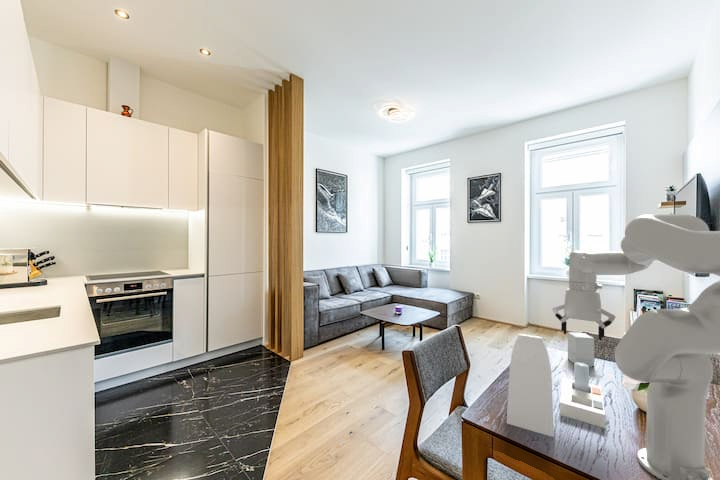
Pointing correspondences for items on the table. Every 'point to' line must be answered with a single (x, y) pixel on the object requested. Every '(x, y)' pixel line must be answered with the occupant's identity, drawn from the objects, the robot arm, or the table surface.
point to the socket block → (582, 403)
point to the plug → (581, 377)
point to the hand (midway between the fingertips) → (582, 335)
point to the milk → (530, 386)
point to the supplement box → (581, 348)
